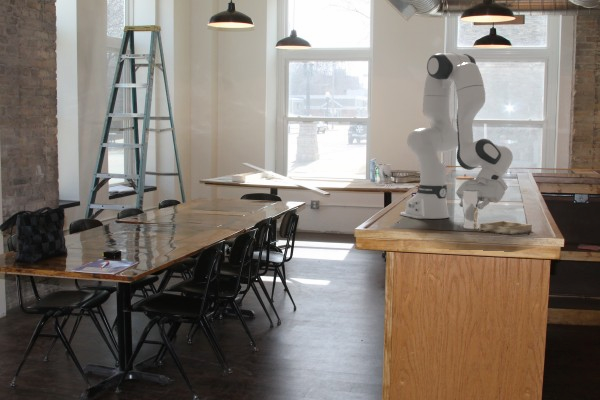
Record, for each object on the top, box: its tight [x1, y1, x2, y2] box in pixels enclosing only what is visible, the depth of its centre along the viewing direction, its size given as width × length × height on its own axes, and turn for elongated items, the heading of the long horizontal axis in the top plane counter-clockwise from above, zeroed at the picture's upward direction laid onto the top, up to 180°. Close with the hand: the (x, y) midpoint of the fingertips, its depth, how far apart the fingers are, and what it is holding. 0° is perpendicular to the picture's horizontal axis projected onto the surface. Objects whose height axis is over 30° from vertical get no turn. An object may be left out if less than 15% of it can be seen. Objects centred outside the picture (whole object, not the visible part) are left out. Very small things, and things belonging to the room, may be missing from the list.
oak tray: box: [479, 220, 533, 235], centre depth 287 cm, size 14×14×3 cm
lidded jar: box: [455, 173, 475, 189], centre depth 442 cm, size 11×11×9 cm
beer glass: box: [462, 190, 482, 230], centre depth 294 cm, size 7×7×15 cm
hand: (470, 207), depth 293 cm, fingers open, 8 cm apart
